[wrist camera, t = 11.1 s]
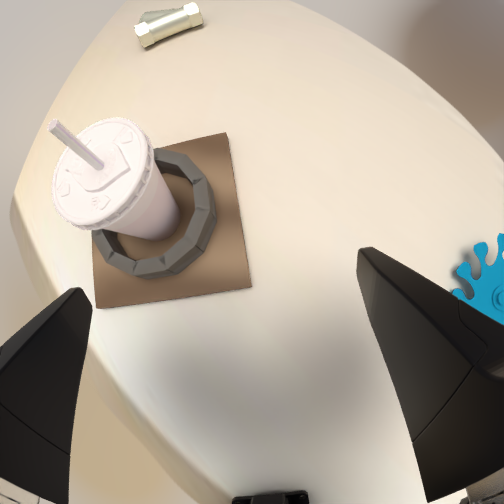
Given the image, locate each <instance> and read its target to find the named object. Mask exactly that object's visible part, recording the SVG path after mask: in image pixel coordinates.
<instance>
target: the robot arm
mask: <svg viewBox="0 0 504 504" xmlns="http://www.w3.org/2000/svg"><path fill="white" fill-rule="evenodd" d="M356 272H357V279H358V282H359V286H360V289H361V293H362V296H363V299H364V303H365V307H366V310H367V314H368V317H369V320H370V323H371V326H372V328H373V331H374V333H375V336H376V339H377V341H378V344H379V346H380V349H381V352H382V354H383V357H384V360H385V362H386V365H387V368H388V370H389V373H390V376H391V379H392V382H393V385H394V387H395V390H396V393H397V396H398V399H399V402H400V405H401V408H402V411H403V415H404V418H405V421H406V424H407V427H408V431H409V434H410V437H411V441H412V442H413V443H412V445H413V448H414V452H415V456H416V459H417V463H418V467H419V471H420V475H421V479H422V483H423V487H424V491H425V496H426V500H427V503H430V502H432V501H435V500H438V499H440V498H443V497H445V496H448V495H450V494H452V493H455V492H457V491H459V490H462V489H464V488H466V491H467V495H468V496H467V497H465V498H464V499H462V500H461V502H460V503H459V504H504V325H503V324H501V323H499V322H497V321H496V320H494V319H492V318H490V317H489V316H487V315H485V314H483V313H482V312H480V311H478V310H477V309H475V308H474V307H472V306H470V305H469V304H467V303H466V302H464V301H463V300H461V299H459V300H458V297H456V296H455V295H453V294H451V293H450V292H448V291H447V290H445V289H443V288H442V287H440V286H439V285H437V284H435V283H434V282H432V281H430V280H429V279H427V278H425V277H424V276H422V275H420V274H419V273H417V272H415V271H414V270H412V269H410V268H408V267H407V266H405V265H403V264H402V263H400V262H398V261H396V260H395V259H393V258H391V257H389V256H388V255H386V254H384V253H382V252H380V251H379V250H377V249H375V248H373V247H366V248H360V249H359V250H358V256H357V270H356ZM92 311H93V310H92V305H91V303H90V301H89V300H88V298H87V296H86V294H85V293H84V291H83V289H81V288H80V287H76V288H70V289H69V290H67V291H66V292H65V293H64V294H62V295H61V296H60V297H59V298H57V299H56V300H55V301H53V302H52V303H51V304H50V305H49V306H47V307H46V308H45V309H44V310H42V311H41V312H40V313H39V314H38V315H37V316H35V317H34V318H33V319H32V320H30V321H29V322H28V323H27V324H26V325H25V326H23V327H22V328H21V329H20V330H19V331H18V332H16V333H15V334H14V335H13V336H12V337H11V338H10V339H9V340H7V341H6V342H5V343H4V344H3V345H2V346H1V347H0V504H39V502H40V497H41V498H43V499H46V500H48V501H51V502H53V503H56V504H68V502H69V497H68V496H69V467H70V452H71V441H72V431H73V423H74V416H75V408H76V403H77V397H78V391H79V385H80V379H81V374H82V369H83V365H84V360H85V355H86V350H87V344H88V337H89V330H90V324H91V318H92ZM301 495H304V496H303V497H300V496H301ZM237 502H240V503H237ZM232 504H309V498H308V493H307V492H306V491H298V492H291V493H283V494H273V495H262V496H252V497H236V498H234V499H233V500H232Z"/></svg>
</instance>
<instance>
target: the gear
mask: <svg viewBox="0 0 504 504" xmlns="http://www.w3.org/2000/svg"><path fill="white" fill-rule="evenodd" d="M497 242H498V247H499V249H498V256H497V258H496V260H495V263H494V264H493V265H492V266H488V265H487V264H486V263H485V256H486V254H487V252H488V246H487V244H486V243H485V242H481V243H478V244H476V245H474V252H475V254H476V255H477V256H478V258H479V260H480V263H481V277H480V278H479V279H478V280H475V279H473V278H472V276H471V266H470V264H469V263H468V262H463V263H462V264H461V265H460V266H459V268H458V269H457V270H456V272H457V274H458V275H459V276H460V277H462V278H464V279H466V280H467V281H468V282H469V283H470V284H471V286H472V288H473V290H474V297H473V298H472V299H467V298H466V297H465V294H464V292H463V291H462V290H461V289H459V288H457V289H454V291H453V293H452V294H453V295H455V296H456V297H458V300H459V299H461V300H463V301H464V302H466V303H467V304H469V305H470V306H472V307H474V308H475V309H477V310H478V311H480V312H482V313H483V314H485V315H487V316H489V317H490V318H492V319H494V320H496V321H497V322H499V323H501V324H503V325H504V259H503V257H502V253H503V251H504V234H501V233H499V235H498V238H497Z"/></svg>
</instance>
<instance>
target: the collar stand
mask: <svg viewBox="0 0 504 504" xmlns="http://www.w3.org/2000/svg"><path fill="white" fill-rule="evenodd" d="M153 150H154V161H155V163H156V165H157V167H158V169H159V171H160V173H161V175H162V177H163V179H164V181H165V183H166V185H167V187H168V188H169V190H170V192H171V194H172V196H173V198H174V200H175V202H176V204H177V205H178V207H179V210H180V222H179V225H178V227H177V229H176V231H175V232H174V233H173V234H172V235H171V236H170V237H168V238H167V239H164V240H161V241H151V240H147V239H143V238H139V237H135V236H131V235H127V234H123V233H119V232H115V231H111V230H106V229H102V228H101V229H98V230H92V257H93V276H94V290H95V301H96V308H98V309H104V308H112V307H120V306H128V305H135V304H143V303H150V302H157V301H164V300H171V299H178V298H185V297H191V296H198V295H205V294H211V293H217V292H223V291H230V290H236V289H242V288H248V287H252V286H251V280H250V273H249V267H248V261H247V255H246V249H245V243H244V237H243V230H242V224H241V218H240V212H239V206H238V199H237V193H236V187H235V181H234V174H233V168H232V162H231V155H230V149H229V143H228V137H227V134H226V132H225V133H220V134H215V135H211V136H206V137H202V138H197V139H193V140H189V141H185V142H181V143H177V144H173V145H169V146H165V147H162V148H156V149H153Z"/></svg>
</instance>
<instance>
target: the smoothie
mask: <svg viewBox="0 0 504 504" xmlns="http://www.w3.org/2000/svg"><path fill="white" fill-rule="evenodd" d="M47 129H48V130H49V131H50V132H51V133H52V134H53V135H54V136H56V137H57V138H58V139H59V140H60V141H62V142H63V143H64V144H65V145H66V146H67V147H66V149H65V150H64V152H63V153H62V155H61V157H60V159H59V161H58V163H57V165H56V168H55V171H54V174H53V179H52V199H53V203H54V206H55V209H56V211H57V212H58V214H59V215H60V216H61V217H62V218H63V219H64V220H66V221H67V222H69V223H71V224H72V225H73V226H76V227H78V228H80V229H83V230H98V229H101V228H102V229H106V230H111V231H115V232H119V233H123V234H127V235H131V236H135V237H139V238H143V239H147V240H151V241H161V240H164V239H167V238H168V237H170V236H171V235H172V234H173V233H174V232H175V231H176V229H177V227H178V225H179V222H180V210H179V207H178V205H177V204H176V202H175V200H174V198H173V196H172V194H171V192H170V190H169V188H168V187H167V185H166V183H165V181H164V179H163V177H162V175H161V173H160V171H159V169H158V167H157V165H156V163H155V161H154V150H153V147H152V145H151V142H150V139H149V138H148V136H147V135H146V134H145V133H144V132H143V131H142V130H141V128H140V127H139V126H138V125H137V124H136V123H134V122H133V121H131V120H128V119H125V118H116V117H115V118H108V119H104V120H101V121H98V122H96V123H94V124H92V125H90V126H88V127H87V128H85V129H84V130H83V131H81V132H80V133H79V134H78V135H77V136H76V137H75V136H74V135H73V134H72V133H71V132H70V131H69V130H68V129H67V128H65V127H64V126H63V125H62V124H61V123H60V122H59V121H58V120H57V119H53V120H52V121H51V122H50V123H49V124H48V127H47Z"/></svg>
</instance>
